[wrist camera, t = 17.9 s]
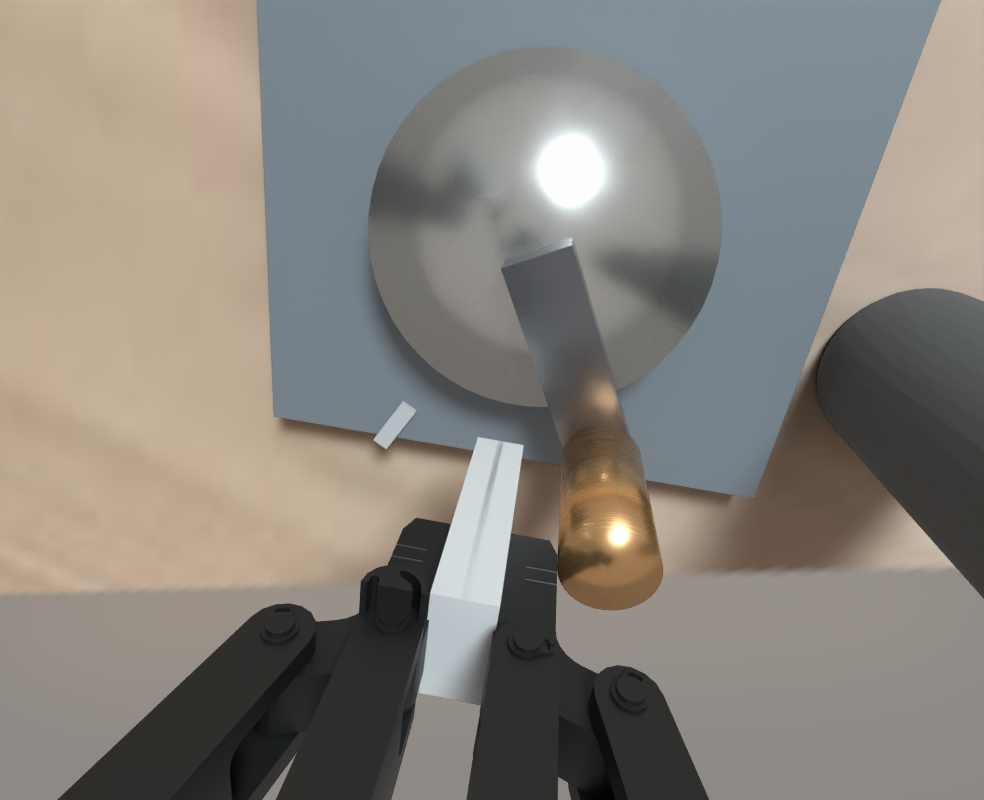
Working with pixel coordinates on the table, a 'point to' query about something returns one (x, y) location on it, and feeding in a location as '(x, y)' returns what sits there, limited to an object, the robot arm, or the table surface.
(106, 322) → the table surface
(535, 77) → the dial
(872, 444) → the bottle
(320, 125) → the board
